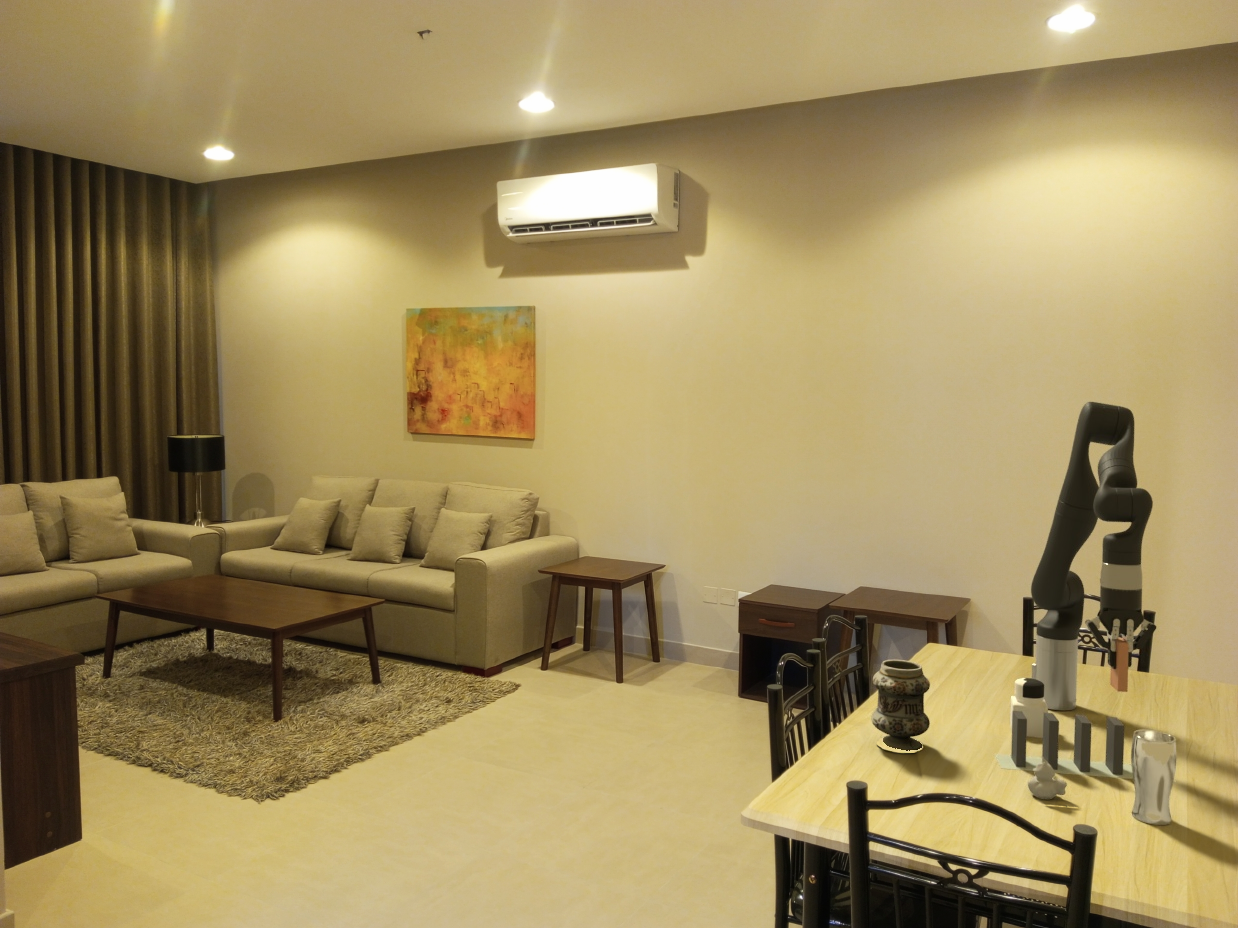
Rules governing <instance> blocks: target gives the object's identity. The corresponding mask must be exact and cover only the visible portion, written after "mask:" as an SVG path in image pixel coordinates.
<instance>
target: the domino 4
mask: <svg viewBox="0 0 1238 928" xmlns="http://www.w3.org/2000/svg"><path fill="white" fill-rule="evenodd" d="M1128 650H1129V643H1128V642H1126V641H1125V640H1123V638H1122V636H1121V637H1120V636H1119V639H1118V641H1117V650H1116V652H1117V655H1116V669H1112V668H1111V667H1110V678H1109V679H1110V682H1109V683H1110V686H1112V687H1113V689H1115V691H1117V692H1123V693H1128V690H1129V688H1128V686H1129V685H1128V684H1129V683H1128V682H1129V679H1128V678H1129V667H1128Z"/></svg>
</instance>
